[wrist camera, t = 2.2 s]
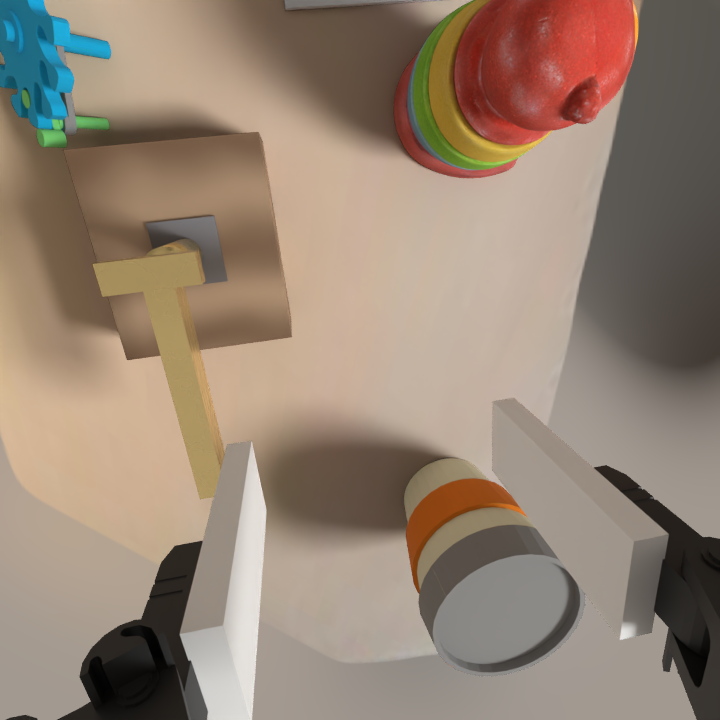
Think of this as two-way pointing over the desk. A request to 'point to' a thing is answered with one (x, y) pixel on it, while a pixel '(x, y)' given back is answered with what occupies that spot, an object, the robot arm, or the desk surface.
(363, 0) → the mat
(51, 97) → the gear
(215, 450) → the gold piece
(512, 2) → the stacking bear
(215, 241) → the lock block
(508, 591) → the reusable coffee cup
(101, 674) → the robot arm
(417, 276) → the desk surface
